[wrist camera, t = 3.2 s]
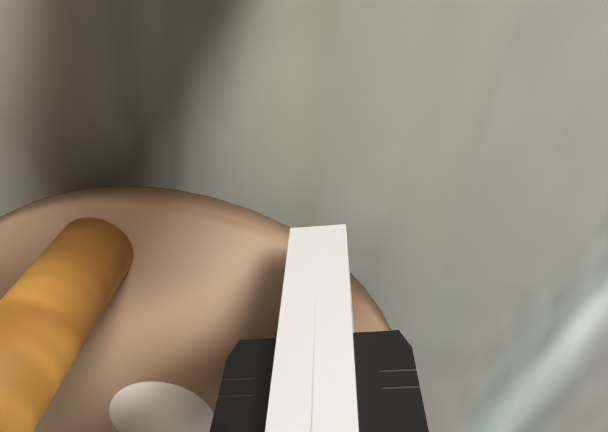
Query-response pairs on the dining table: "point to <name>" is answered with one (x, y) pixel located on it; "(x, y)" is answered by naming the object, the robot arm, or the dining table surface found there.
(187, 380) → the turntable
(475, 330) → the dining table surface
